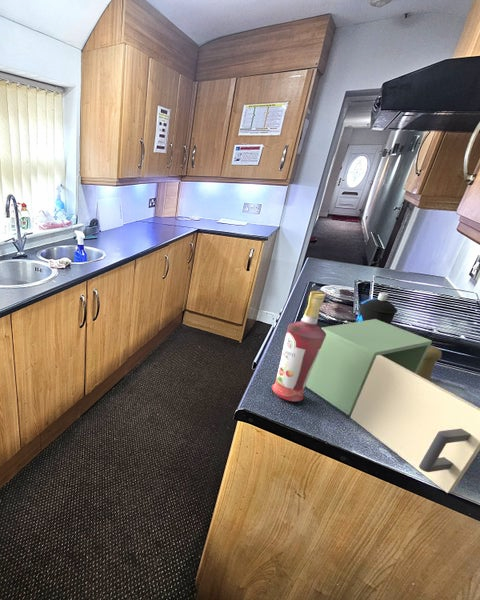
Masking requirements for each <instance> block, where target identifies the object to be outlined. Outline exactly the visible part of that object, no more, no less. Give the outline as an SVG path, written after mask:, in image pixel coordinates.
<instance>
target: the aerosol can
mask: <svg viewBox="0 0 480 600" xmlns="http://www.w3.org/2000/svg"><path fill="white" fill-rule="evenodd" d="M388 297H389V293H387V292H383V291H382V292H379V293H378V296H377V298H369V299H366V300H364V301H361V302H360V305H361V306H360V308H359V311H358V313H357V316H356V319H355V321H354V322H360V321H366V320H372V319H377V320H379V321H382V322H385V323H387V324H390V325H392V322H393V320H394V317H395V315H396V313H398V309H397V308H396V307H395V305H394V304H393V303H391V302H390V301H388V300H387V299H388Z"/></svg>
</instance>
